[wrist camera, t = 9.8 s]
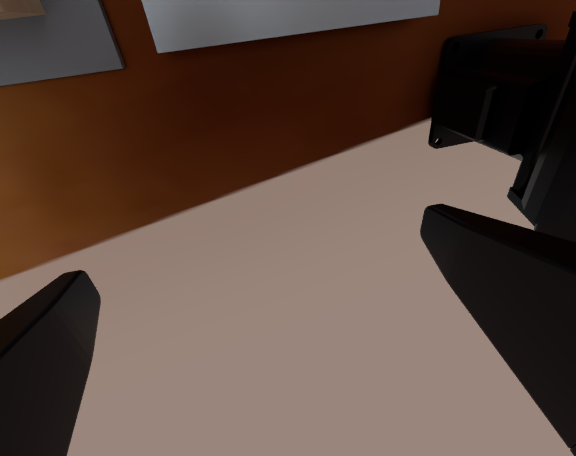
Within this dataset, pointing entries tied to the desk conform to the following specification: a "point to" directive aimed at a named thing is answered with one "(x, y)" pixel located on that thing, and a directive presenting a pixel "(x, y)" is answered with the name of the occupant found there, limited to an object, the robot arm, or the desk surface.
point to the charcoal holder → (266, 18)
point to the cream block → (20, 8)
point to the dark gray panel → (58, 43)
